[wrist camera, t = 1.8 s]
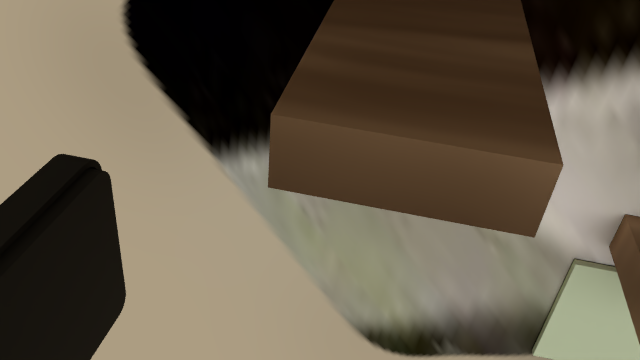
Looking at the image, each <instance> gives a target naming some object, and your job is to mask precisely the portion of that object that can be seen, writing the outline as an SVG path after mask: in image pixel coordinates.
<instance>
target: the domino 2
mask: <svg viewBox="0 0 640 360" xmlns="http://www.w3.org/2000/svg"><path fill="white" fill-rule="evenodd" d="M609 248H610V251H611V254H612V258H613V261H614V264H615V267H616V270H617V274H618V277H619V280H620V283H621V287H622V290H623V293H624V296H625V299H626V303H627V306H628V309H629V312H630V315H631V319H632V322H633V325H634V328H635V332H636V335H637V338H638V341H639V344H640V217H637V216H631V215H626V214H625V216H624V218H623V220H622V222H621V224H620V226H619V228H618V230H617V232H616V234H615V236H614V238H613V240H612V242H611V244H610V246H609Z"/></svg>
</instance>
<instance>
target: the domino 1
mask: <svg viewBox="0 0 640 360" xmlns="http://www.w3.org/2000/svg"><path fill="white" fill-rule="evenodd" d="M562 167H563V162H562V158H561V154H560V150H559V147H558V143H557V139H556V135H555V131H554V127H553V123H552V120H551V116H550V112H549V108H548V104H547V100H546V96H545V93H544V89H543V85H542V81H541V77H540V73H539V69H538V65H537V62H536V58H535V54H534V50H533V46H532V42H531V38H530V35H529V31H528V27H527V23H526V19H525V15H524V11H523V8H522V4H521V0H334V1H333V3H332V5H331V7H330V9H329V10H328V12H327V14H326V16H325V18H324V19H323V21H322V23H321V25H320V27H319V28H318V30H317V32H316V34H315V36H314V37H313V39H312V41H311V43H310V45H309V46H308V48H307V50H306V52H305V54H304V56H303V57H302V59H301V61H300V63H299V65H298V66H297V68H296V70H295V72H294V74H293V75H292V77H291V79H290V81H289V83H288V84H287V86H286V88H285V90H284V92H283V94H282V95H281V97H280V99H279V101H278V103H277V104H276V106H275V108H274V110H273V112H272V113H271V128H270V153H269V178H268V187H269V188H274V189H280V190H285V191H290V192H296V193H301V194H306V195H312V196H317V197H322V198H327V199H333V200H338V201H343V202H349V203H354V204H359V205H365V206H370V207H375V208H381V209H386V210H391V211H396V212H402V213H407V214H412V215H418V216H423V217H428V218H434V219H439V220H444V221H450V222H455V223H460V224H465V225H471V226H476V227H481V228H487V229H492V230H497V231H503V232H508V233H513V234H519V235H524V236H529V237H535V235H536V232H537V230H538V227H539V225H540V222H541V220H542V217H543V215H544V212H545V210H546V207H547V205H548V202H549V200H550V197H551V195H552V192H553V190H554V187H555V185H556V182H557V180H558V177H559V175H560V172H561V170H562Z"/></svg>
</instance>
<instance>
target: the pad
mask: <svg viewBox="0 0 640 360" xmlns="http://www.w3.org/2000/svg"><path fill="white" fill-rule="evenodd" d="M532 352H533V355H534V356H539V357H544V358H548V359H553V360H640V344H639V341H638V338H637V335H636V332H635V328H634V325H633V322H632V319H631V315H630V312H629V309H628V306H627V303H626V299H625V296H624V293H623V290H622V287H621V283H620V280H619V277H618V274H617V270H616V267H613V266H607V265H602V264H597V263H592V262H586V261H581V260H576V259H574V261H573V264H572V266H571V268H570V270H569V272H568V274H567V276H566V279H565V281H564V283H563V285H562V287H561V289H560V291H559V294H558V296H557V298H556V300H555V302H554V304H553V306H552V309H551V311H550V313H549V315H548V317H547V319H546V322H545V324H544V326H543V328H542V330H541V332H540V334H539V337H538V339H537V341H536V343H535V345H534V347H533V349H532Z"/></svg>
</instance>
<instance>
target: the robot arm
mask: <svg viewBox="0 0 640 360" xmlns="http://www.w3.org/2000/svg"><path fill="white" fill-rule="evenodd" d="M125 297H126V290H125V282H124V275H123V268H122V260H121V253H120V245H119V238H118V230H117V223H116V216H115V208H114V201H113V193H112V186H111V179H110V176H109V174H108V173H107V172H106V171H102V169H101V166H100V164H99V163H98V162H97V161H96V160H92V159H87V158H82V157H77V156H71V155H66V154H58V155H57V156H55V157H53V158H52V159H51V160H50V161H49V162H48V163H47V164H46V165H44V166H43V167H42V168H41V169H40V170H39V171H38V172H37V173H35V174H34V175H33V176H32V177H31V178H30V179H29V180H28V181H26V182H25V183H24V184H23V185H22V186H21V187H20V188H19V189H18V190H16V191H15V192H14V193H13V194H12V195H11V196H10V197H9V198H7V199H6V200H5V201H4V202H3V203H2V204H1V205H0V360H90V359H91V358H92V356H93V355H94V353H95V352H96V350H97V348H98V347H99V345H100V344H101V342H102V341H103V339H104V338H105V336H106V335H107V333H108V332H109V330H110V328H111V327H112V326H113V324H114V322H115V321H116V319H117V318H118V316H119V315H120V313H121V311H122V309H123V306H124V302H125Z"/></svg>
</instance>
